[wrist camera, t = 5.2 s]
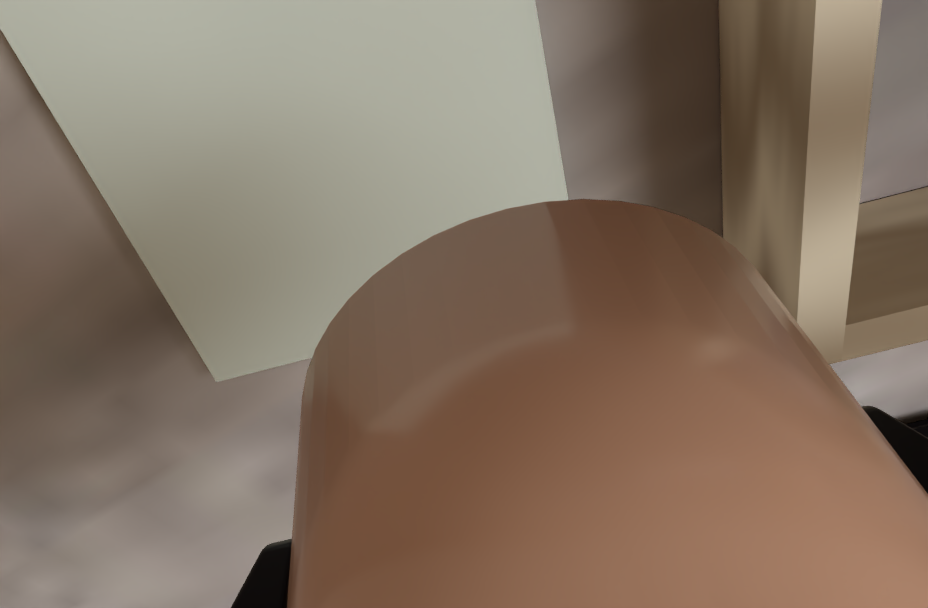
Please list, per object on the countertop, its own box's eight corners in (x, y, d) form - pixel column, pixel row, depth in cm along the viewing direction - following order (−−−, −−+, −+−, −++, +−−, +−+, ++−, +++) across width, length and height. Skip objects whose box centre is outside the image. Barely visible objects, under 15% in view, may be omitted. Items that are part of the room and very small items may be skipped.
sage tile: (578, 276, 22) (583, 288, 21) (219, 368, 22) (216, 382, 22) (505, -151, 15) (510, -148, 15) (-4, -5, 16) (-16, 3, 15)
